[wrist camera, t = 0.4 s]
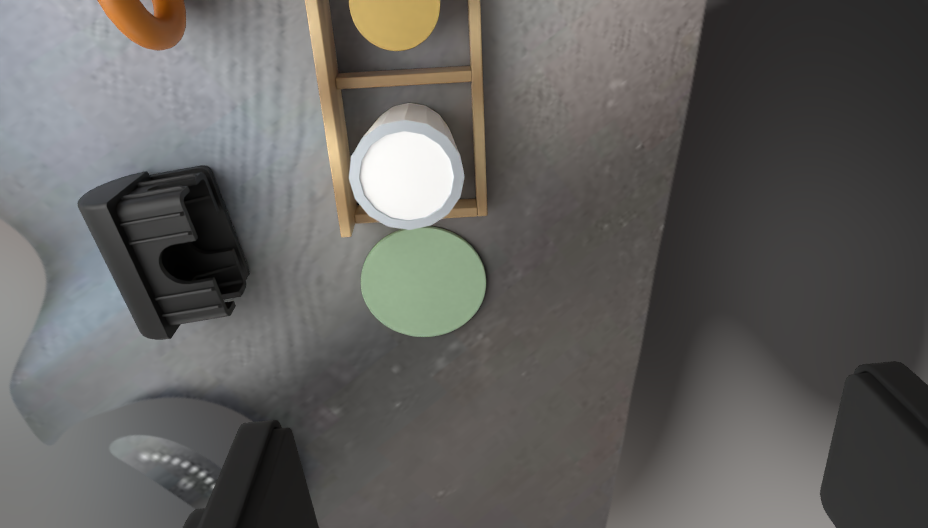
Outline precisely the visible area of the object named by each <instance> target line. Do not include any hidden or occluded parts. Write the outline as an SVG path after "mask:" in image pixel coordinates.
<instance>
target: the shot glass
mask: <svg viewBox="0 0 928 528" xmlns="http://www.w3.org/2000/svg"><path fill="white" fill-rule="evenodd" d="M464 177H465V176H464V171H463V167H462V162H461V157H460V154H459V151H458V149H457V146H456V144H455V142H454V139H453V137H452V134H451V132H450V130H449V127H448V126H447V125H446V123H445V122H444V120H443V119H442V117H441V116H440V115H439V114H438V113H436V112H435V111H433V110H432V109H430V108H429V107H427V106H425V105H420V104H414V103H406V104H401V105H396V106H393V107H392V108H390V109H389V110H387V111H386V112H384V113H383V114H382V115H380V117H379V118H378V119H377V120H376V122H375V123H374V124H373V125H372V127H371V128H370V129H369V130H368V131H367V133H366V134H365V135H364V136H363V138H362V139H361V141H360V143H359V144H358V146H357V148H356V149H355V151H354V153H353V154H352V156H351V163H350V171H349V181H350V184H351V187H352V191H353V194H354V197H355V199H356V201H357V202H358V203H359V204H360V206H361V207H362V208H363V209H364V210H365V212H366V213H367V214H368V215H369V216H370V217H372V218H374V219H376V220H377V221H379V222H381V223H383V224H384V225H386V226H388V227H394V228H400V229H407V230H412V229H417V228H421V227H426V226H431V225H432V224H434V223H435V222H437V221H439V220H440V219H442V218H443V217H445V216H446V215H448V214H449V213H450V211H451V210H452V208H453V207H454V205H455V204H456V202H457V201H458V200H459V198H460V196H461V191H462V186H463V181H464Z"/></svg>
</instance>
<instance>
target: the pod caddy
mask: <svg viewBox="0 0 928 528" xmlns="http://www.w3.org/2000/svg"><path fill="white" fill-rule="evenodd" d="M305 4H306V11H307V17H308V24H309V30H310V37H311V43H312V50H313V56H314V63H315V69H316V76H317V82H318V89H319V95H320V102H321V108H322V115H323V121H324V128H325V134H326V141H327V147H328V154H329V161H330V167H331V174H332V180H333V187H334V193H335V200H336V206H337V213H338V219H339V226H340V232H341V237H351V236H352V232H353V229H354V225H355V223H373V222H379V221H377V220H376V219H374V218H372V217H370V216H369V215H368V214H367V213H366V212H365V210H364V209H363V208H362V207H361V206H360V205H358V206H357V202H356V199H355V197H354V194H353V191H352V187H351V184H350V181H349V171H350V163H351V159H350V151H349V144H348V137H347V130H346V122H345V115H344V108H343V100H342V93H341V89H352V88H370V87H387V86H405V85H422V84H440V83H457V82H471V94H472V117H473V140H474V164H475V187H476V199H459V200H458V201H457V202H456V204H455V205H454V207H453V208H452V210H451V211H450V213H449V214H448V215H446V216H445V217H443V218H457V217H474V216H477V215H478V216H487V186H486V156H485V127H484V98H483V68H482V39H481V9H480V0H468V23H469V47H470V66H455V67H437V68H420V69H402V70H385V71H367V72H349V73H339V71H338V64H337V57H336V49H335V42H334V35H333V27H332V20H331V13H330V6H329V0H305Z"/></svg>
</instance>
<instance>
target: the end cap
mask: <svg viewBox="0 0 928 528" xmlns="http://www.w3.org/2000/svg"><path fill="white" fill-rule="evenodd" d="M78 208H79V210H80V212H81V214H82V216H83V218H84V220H85V222H86V224H87V226H88V228H89V230H90V232H91V234H92V236H93V238H94V240H95V242H96V244H97V246H98V248H99V250H100V252H101V254H102V256H103V258H104V260H105V262H106V264H107V266H108V268H109V270H110V272H111V274H112V276H113V278H114V280H115V283H116V285H117V287H118V289H119V291H120V293H121V295H122V297H123V299H124V301H125V303H126V305H127V307H128V309H129V311H130V313H131V315H132V317H133V319H134V321H135V323H136V325H137V327H138V329H139V331H140V332H141V334H142V335H143V336H145V337H147V338H150V339H156V340H163V339H171V338H172V336H173V335H174V333H175V332H176V330H177V329H178V327H179V326H180V324H184V323H190V322H196V321H202V320H208V319H213V318H219V317H225V316H230V315H231V314H232V312H233V310H234V308H235V306H236V305H235V303H234V301H231V302H224V300H223V299H229V298H235V297H241V296H242V294H243V292H244V290H245V288H246V279H247V277H248V276H249V274H250V273H249V268H248V266H247V263H246V260H245V258H244V255H243V252H242V250H241V247H240V244H239V242H238V239H237V236H236V234H235V231H234V228H233V226H232V223H231V220H230V218H229V215H228V212H227V210H226V207H225V205H224V202H223V199H222V197H221V194H220V191H219V189H218V186H217V183H216V181H215V178H214V175H213V173H212V171H211V169H210V168H208V167H206V166H196V167H191V168H185V169H180V170H174V171H169V172H163V173H158V174H153V175H149V173H148V172H141V173H137V174H133V175H129V176H125V177H122V178H119V179H116V180H113V181H110V182H108V183H105V184H103V185H101V186H98V187H96V188H94V189H92V190H90V191H89V192H87V193H86V194H84V195H83V196H82V197H81V198H80V199H79V201H78Z"/></svg>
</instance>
